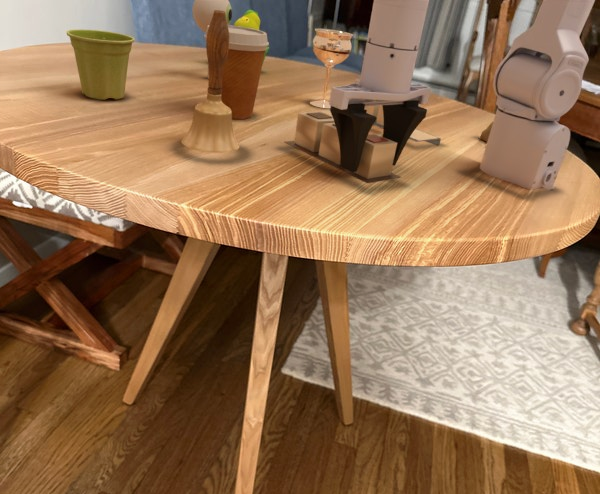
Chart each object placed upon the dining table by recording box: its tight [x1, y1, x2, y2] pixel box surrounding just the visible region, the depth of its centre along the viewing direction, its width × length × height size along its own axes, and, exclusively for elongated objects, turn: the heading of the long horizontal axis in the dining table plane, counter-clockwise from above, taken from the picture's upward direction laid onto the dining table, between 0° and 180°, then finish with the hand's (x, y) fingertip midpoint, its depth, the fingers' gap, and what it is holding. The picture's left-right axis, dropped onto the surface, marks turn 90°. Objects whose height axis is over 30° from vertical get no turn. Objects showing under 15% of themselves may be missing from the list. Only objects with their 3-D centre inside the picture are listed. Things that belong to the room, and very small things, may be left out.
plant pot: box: [66, 29, 136, 101], centre depth 85 cm, size 9×9×9 cm
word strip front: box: [284, 111, 402, 184], centre depth 72 cm, size 16×6×5 cm, turn 39°
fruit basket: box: [233, 9, 270, 66], centre depth 119 cm, size 11×9×11 cm
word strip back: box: [364, 105, 442, 146], centre depth 90 cm, size 15×6×5 cm, turn 39°
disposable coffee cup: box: [203, 24, 270, 120], centre depth 85 cm, size 10×10×12 cm
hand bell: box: [181, 10, 241, 154], centre depth 67 cm, size 8×8×16 cm
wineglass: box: [309, 28, 354, 109], centre depth 99 cm, size 7×7×12 cm
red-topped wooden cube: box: [354, 132, 397, 179], centre depth 68 cm, size 4×4×4 cm
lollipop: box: [191, 0, 233, 80], centre depth 105 cm, size 7×7×15 cm
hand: (368, 165), depth 69 cm, fingers open, 6 cm apart
